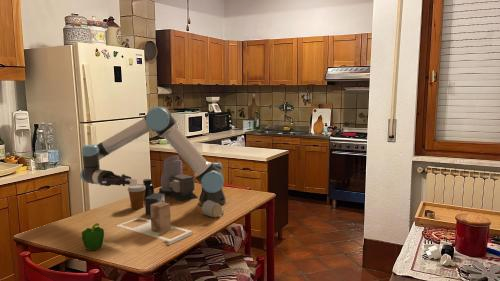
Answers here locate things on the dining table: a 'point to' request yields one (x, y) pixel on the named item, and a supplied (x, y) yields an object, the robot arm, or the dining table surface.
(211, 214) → the ceramic mug
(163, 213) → the walnut block
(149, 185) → the supplement bottle
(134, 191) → the disposable coffee cup
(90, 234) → the bell pepper
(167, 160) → the juicer
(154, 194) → the small box
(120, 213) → the dining table surface
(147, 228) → the trap board
